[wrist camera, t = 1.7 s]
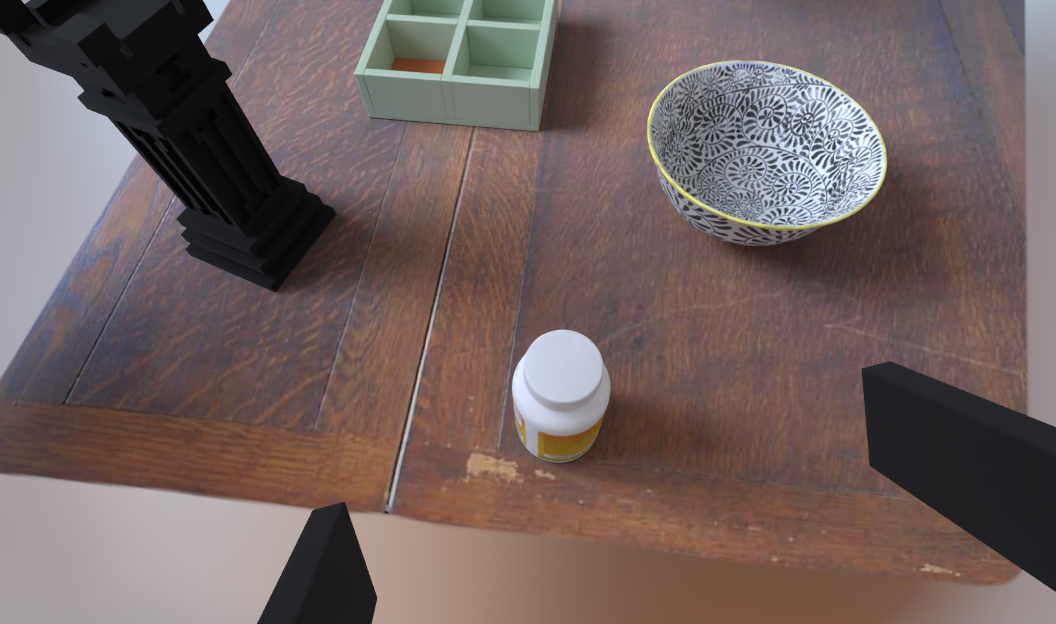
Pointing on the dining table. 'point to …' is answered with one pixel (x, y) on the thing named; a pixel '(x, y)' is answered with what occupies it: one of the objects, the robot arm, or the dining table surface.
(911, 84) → the dining table surface
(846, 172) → the bowl
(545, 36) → the grid
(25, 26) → the chess piece
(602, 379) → the supplement bottle
